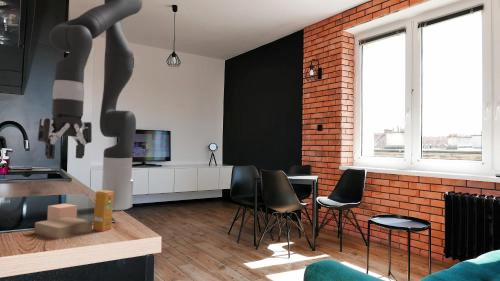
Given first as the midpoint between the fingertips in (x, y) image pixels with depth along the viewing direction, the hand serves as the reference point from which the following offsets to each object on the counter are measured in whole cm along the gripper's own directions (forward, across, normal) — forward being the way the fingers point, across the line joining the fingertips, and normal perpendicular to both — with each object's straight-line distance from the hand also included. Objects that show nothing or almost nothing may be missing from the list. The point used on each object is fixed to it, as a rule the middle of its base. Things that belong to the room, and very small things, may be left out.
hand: (65, 158), depth 95 cm
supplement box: (+18, -2, +13) cm, 22 cm away
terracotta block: (+18, 0, 0) cm, 18 cm away
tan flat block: (+18, +5, +8) cm, 20 cm away
